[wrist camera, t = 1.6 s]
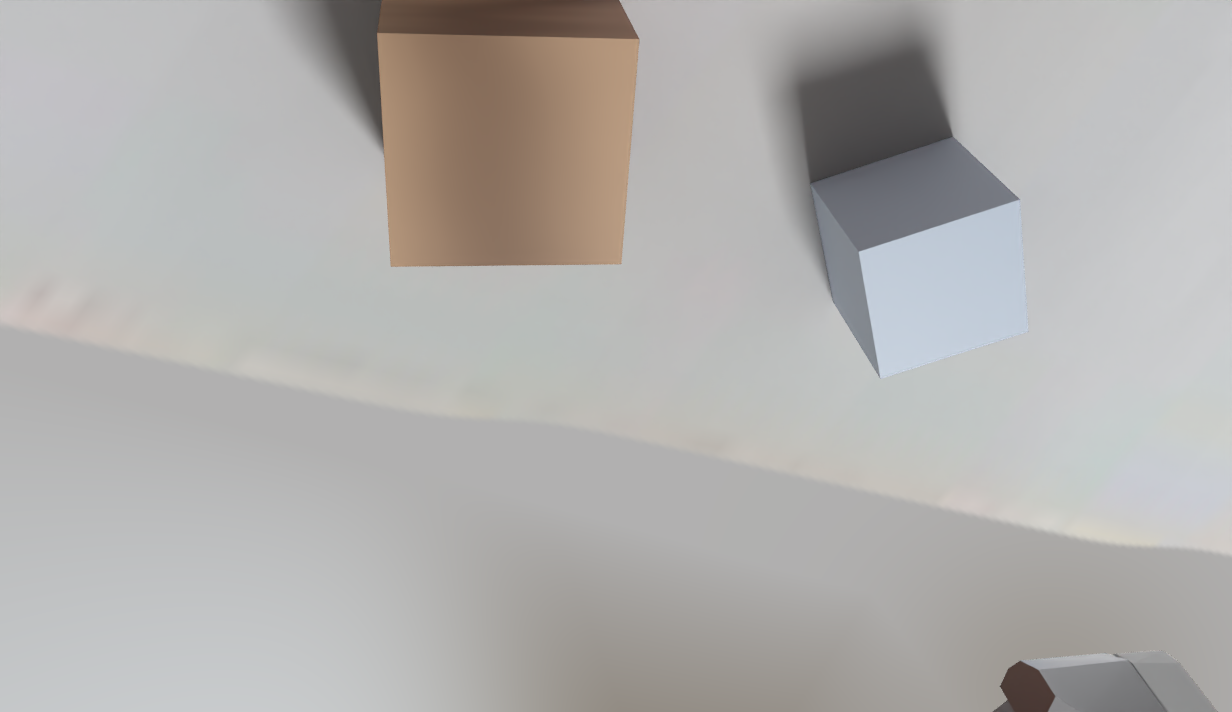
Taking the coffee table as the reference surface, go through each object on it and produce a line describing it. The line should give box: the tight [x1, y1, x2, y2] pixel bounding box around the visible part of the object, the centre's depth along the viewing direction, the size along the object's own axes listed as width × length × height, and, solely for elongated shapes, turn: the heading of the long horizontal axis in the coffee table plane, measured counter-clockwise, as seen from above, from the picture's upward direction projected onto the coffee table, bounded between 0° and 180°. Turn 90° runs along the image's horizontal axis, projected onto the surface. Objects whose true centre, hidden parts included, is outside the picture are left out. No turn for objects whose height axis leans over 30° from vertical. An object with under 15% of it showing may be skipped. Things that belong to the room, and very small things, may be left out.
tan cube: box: [377, 0, 639, 267], centre depth 23 cm, size 5×5×5 cm
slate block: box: [810, 137, 1028, 379], centre depth 28 cm, size 4×4×4 cm
